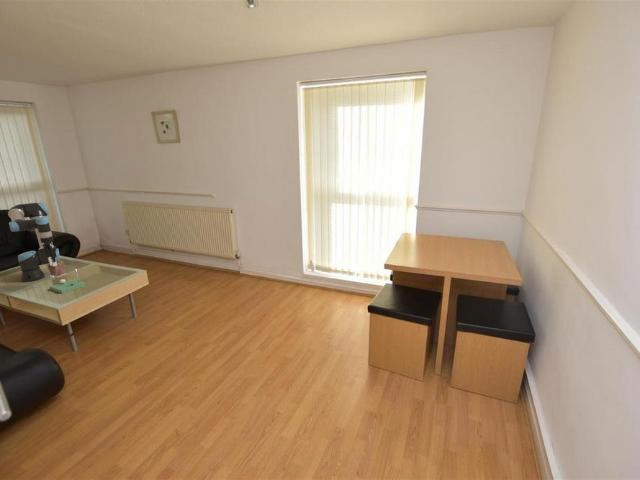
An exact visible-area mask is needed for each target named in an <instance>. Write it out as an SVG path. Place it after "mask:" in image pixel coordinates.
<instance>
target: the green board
mask: <svg viewBox="0 0 640 480" xmlns="http://www.w3.org/2000/svg"><path fill="white" fill-rule="evenodd" d="M82 287H86V283H85V282H83V281H80V282H78V279H77V280H76V279H68V280H65V283H63V284H62V283H60V282H59V283H56V284H53V285H50V286H49V287H48V288H49V290H51V291H52V292H53V291H54V292H56V293H59V294H65V293H68V292H71V291H75V290H76V289H80V288H82Z"/></svg>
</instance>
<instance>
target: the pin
mask: <svg viewBox="0 0 640 480" xmlns="http://www.w3.org/2000/svg"><path fill="white" fill-rule="evenodd" d="M74 269H75V273H76V278H77V281H78V282H81V281H80V278H79V275H78V270H79V267H78V265H74Z"/></svg>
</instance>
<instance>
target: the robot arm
mask: <svg viewBox="0 0 640 480" xmlns="http://www.w3.org/2000/svg"><path fill="white" fill-rule="evenodd" d="M7 215H8V217H9V218H10V219H11V221H9V222H8V225H9V230H10V231H11V232H22V231H28V230H35V234H36V238H37V240H38V241H37V242H38V245H39V248H38V251H36V250H29V251H26V252H23V253H21V254H18V255H17V259H18V261H17V262H18V263H19V266H20V270H21V276H20V281H21V282H22V283H28V282H35V281H39V280H41V279H43V278H45V277H46V275H45V273H44V271H43V270H42V269H41V267H40V266H44V265H49V266H52V267H56V266H58V263H59V261H60V251H59V248H57V247H56V246H55V245H54V244H53V242H54V237H53V232H52V230H51V225H50V221H49V218H48V216H49V212H48V209H47V207H46V205H45V203H43V202H31V203H21V204H16V205H14V206H12V207H11V208H9V210H8V211H7ZM26 218H29V219H26ZM57 262H58V263H57Z"/></svg>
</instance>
